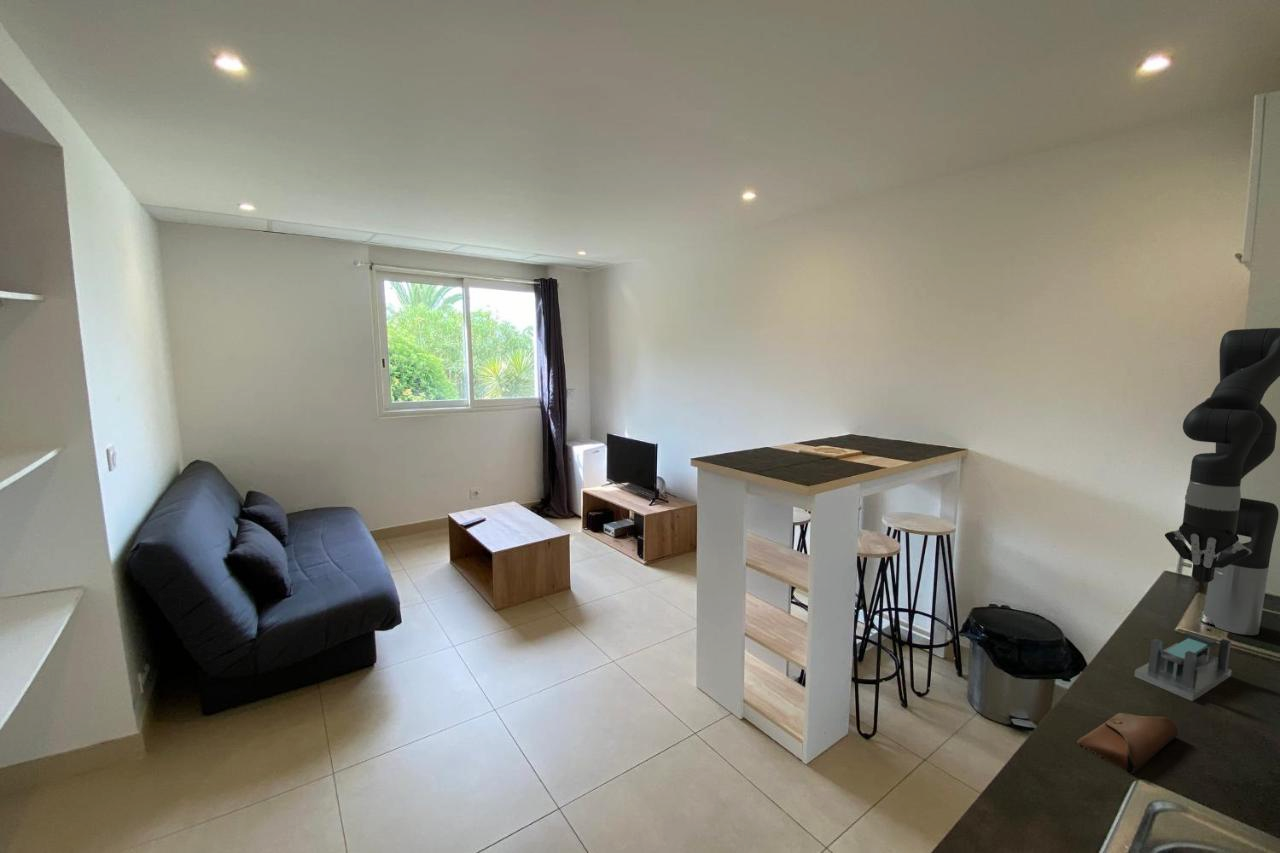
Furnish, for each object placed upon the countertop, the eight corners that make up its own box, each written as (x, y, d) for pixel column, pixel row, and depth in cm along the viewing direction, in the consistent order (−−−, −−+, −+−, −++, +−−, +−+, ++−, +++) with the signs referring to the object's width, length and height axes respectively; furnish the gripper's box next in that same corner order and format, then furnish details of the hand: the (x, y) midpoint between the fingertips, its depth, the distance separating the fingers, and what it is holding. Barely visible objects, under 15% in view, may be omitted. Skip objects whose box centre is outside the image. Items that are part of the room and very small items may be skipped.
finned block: (1173, 654, 117) (1177, 620, 116) (1230, 676, 109) (1235, 639, 108) (1134, 676, 110) (1138, 639, 109) (1192, 701, 102) (1197, 662, 101)
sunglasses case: (1117, 709, 100) (1143, 692, 96) (1157, 746, 95) (1186, 729, 91) (1072, 743, 92) (1099, 726, 88) (1114, 785, 87) (1144, 769, 83)
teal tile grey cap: (1186, 638, 114) (1187, 631, 113) (1214, 648, 110) (1215, 640, 110) (1156, 656, 108) (1157, 648, 108) (1184, 667, 104) (1185, 659, 104)
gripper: (1267, 509, 101) (1255, 590, 104) (1176, 493, 113) (1168, 567, 116) (1251, 515, 98) (1240, 599, 101) (1160, 498, 110) (1152, 574, 113)
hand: (1201, 581), depth 108 cm, fingers closed
